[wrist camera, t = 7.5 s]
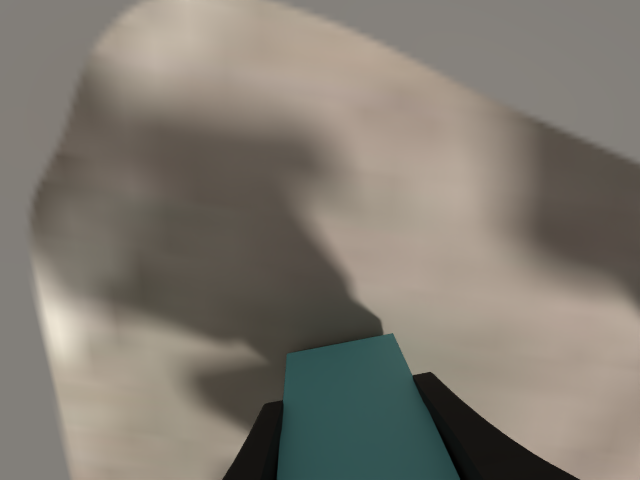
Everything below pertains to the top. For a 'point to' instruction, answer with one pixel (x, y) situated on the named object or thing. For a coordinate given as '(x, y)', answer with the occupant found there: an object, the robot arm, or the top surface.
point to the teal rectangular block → (357, 417)
